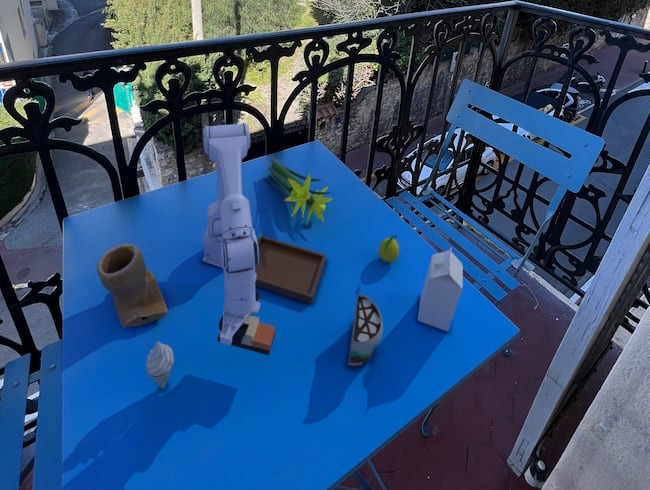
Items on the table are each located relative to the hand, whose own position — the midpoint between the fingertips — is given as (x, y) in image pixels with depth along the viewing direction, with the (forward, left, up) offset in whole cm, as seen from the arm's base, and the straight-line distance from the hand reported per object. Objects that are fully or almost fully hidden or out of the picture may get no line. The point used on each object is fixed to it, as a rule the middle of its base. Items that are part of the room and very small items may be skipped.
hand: (239, 332), depth 83 cm
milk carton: (+40, +25, -9) cm, 48 cm away
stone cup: (-29, +3, -9) cm, 30 cm away
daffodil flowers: (-6, +49, -9) cm, 50 cm away
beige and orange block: (+2, 0, -1) cm, 2 cm away
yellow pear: (+27, +37, -9) cm, 47 cm away
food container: (+25, +11, -9) cm, 29 cm away
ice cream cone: (-12, -10, -9) cm, 18 cm away
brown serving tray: (+1, +24, -8) cm, 25 cm away
